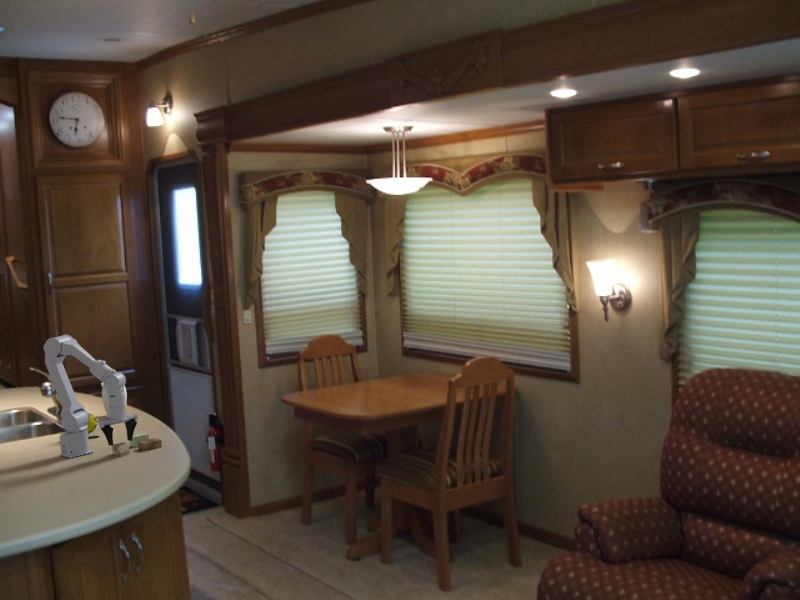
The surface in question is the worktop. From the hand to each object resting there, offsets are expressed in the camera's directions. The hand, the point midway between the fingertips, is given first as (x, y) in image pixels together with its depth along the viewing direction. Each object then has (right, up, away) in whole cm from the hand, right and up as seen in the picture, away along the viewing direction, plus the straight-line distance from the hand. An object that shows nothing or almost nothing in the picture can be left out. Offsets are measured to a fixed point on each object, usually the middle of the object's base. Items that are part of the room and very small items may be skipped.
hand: (120, 442), depth 329 cm
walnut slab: (+9, -3, +7) cm, 12 cm away
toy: (-25, -2, +39) cm, 47 cm away
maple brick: (0, -4, 0) cm, 4 cm away
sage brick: (+3, -3, +12) cm, 13 cm away
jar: (-23, +1, +67) cm, 70 cm away
